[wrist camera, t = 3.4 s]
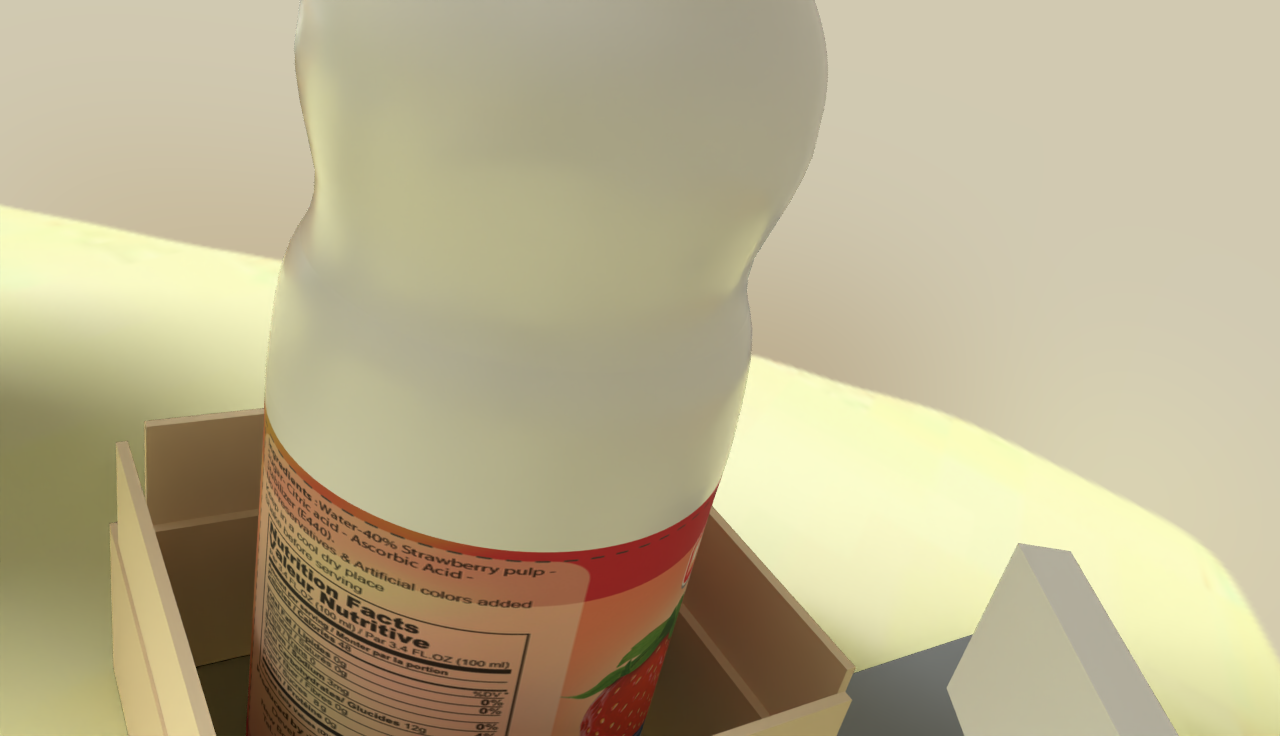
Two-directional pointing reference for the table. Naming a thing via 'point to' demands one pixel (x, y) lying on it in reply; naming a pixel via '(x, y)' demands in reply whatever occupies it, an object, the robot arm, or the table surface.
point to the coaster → (906, 695)
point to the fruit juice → (512, 351)
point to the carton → (224, 592)
